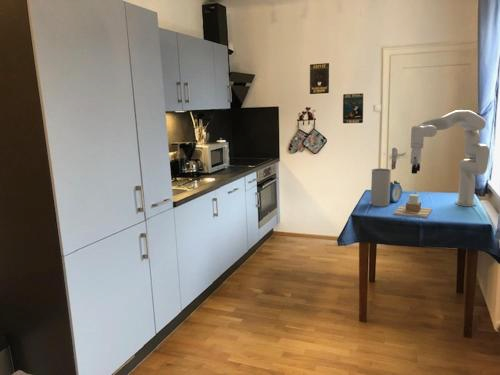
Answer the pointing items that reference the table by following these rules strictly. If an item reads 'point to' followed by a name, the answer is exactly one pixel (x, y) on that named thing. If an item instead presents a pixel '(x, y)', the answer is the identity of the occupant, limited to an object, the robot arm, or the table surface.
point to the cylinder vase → (380, 187)
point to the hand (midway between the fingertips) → (415, 172)
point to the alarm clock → (395, 191)
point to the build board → (421, 214)
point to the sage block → (413, 198)
